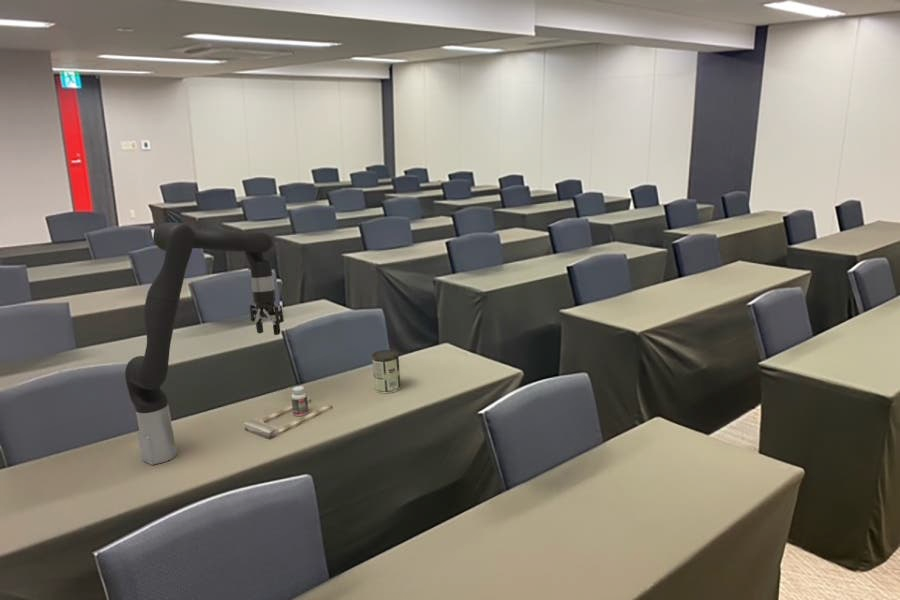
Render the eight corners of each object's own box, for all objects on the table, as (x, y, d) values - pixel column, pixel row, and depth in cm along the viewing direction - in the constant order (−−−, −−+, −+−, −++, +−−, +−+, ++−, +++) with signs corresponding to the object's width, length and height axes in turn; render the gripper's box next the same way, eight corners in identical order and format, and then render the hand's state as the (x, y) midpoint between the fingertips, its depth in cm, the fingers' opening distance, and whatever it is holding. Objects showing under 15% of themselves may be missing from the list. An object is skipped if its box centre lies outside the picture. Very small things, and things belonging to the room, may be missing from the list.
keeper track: (269, 439, 208) (268, 432, 207) (244, 429, 215) (243, 423, 215) (332, 408, 229) (331, 401, 228) (307, 400, 237) (307, 394, 236)
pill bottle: (301, 417, 222) (298, 392, 220) (290, 415, 225) (286, 389, 222) (311, 411, 227) (308, 386, 224) (300, 409, 230) (297, 384, 227)
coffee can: (385, 381, 251) (382, 348, 247) (406, 385, 246) (403, 351, 242) (368, 390, 243) (365, 356, 239) (390, 395, 237) (387, 360, 234)
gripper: (241, 290, 224) (247, 334, 227) (269, 291, 216) (274, 337, 219) (257, 286, 230) (263, 330, 233) (285, 287, 222) (290, 332, 225)
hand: (268, 333), depth 226 cm, fingers open, 8 cm apart
